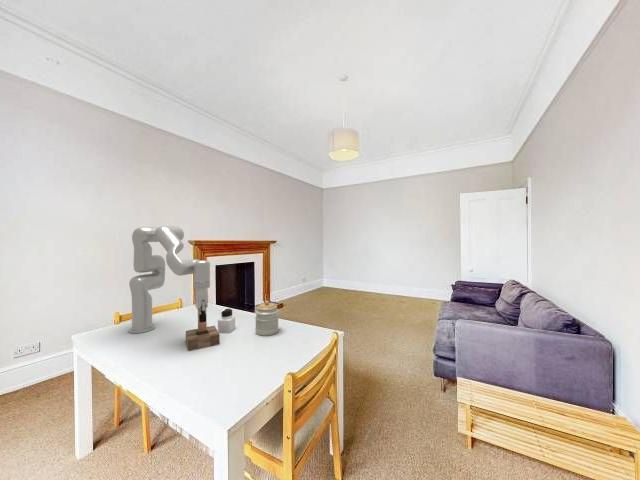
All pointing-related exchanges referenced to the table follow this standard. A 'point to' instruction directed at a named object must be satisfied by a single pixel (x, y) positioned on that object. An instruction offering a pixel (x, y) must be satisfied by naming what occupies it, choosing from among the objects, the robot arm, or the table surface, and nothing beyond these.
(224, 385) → the table surface
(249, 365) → the table surface
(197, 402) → the table surface
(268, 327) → the jar
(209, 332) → the socket block
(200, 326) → the peg
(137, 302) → the robot arm
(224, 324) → the medicine bottle
